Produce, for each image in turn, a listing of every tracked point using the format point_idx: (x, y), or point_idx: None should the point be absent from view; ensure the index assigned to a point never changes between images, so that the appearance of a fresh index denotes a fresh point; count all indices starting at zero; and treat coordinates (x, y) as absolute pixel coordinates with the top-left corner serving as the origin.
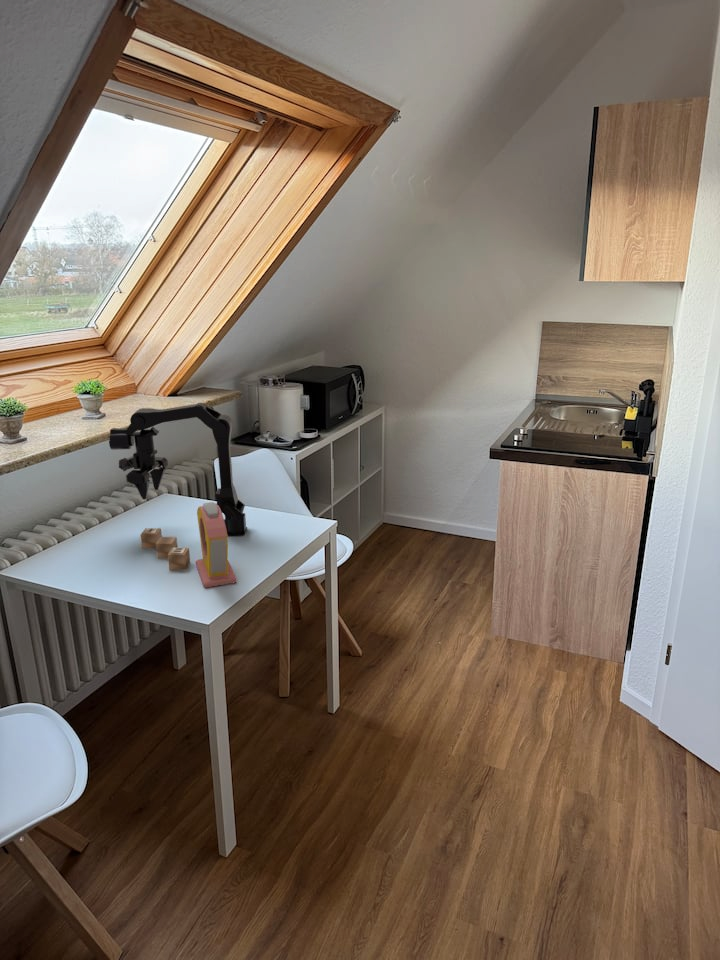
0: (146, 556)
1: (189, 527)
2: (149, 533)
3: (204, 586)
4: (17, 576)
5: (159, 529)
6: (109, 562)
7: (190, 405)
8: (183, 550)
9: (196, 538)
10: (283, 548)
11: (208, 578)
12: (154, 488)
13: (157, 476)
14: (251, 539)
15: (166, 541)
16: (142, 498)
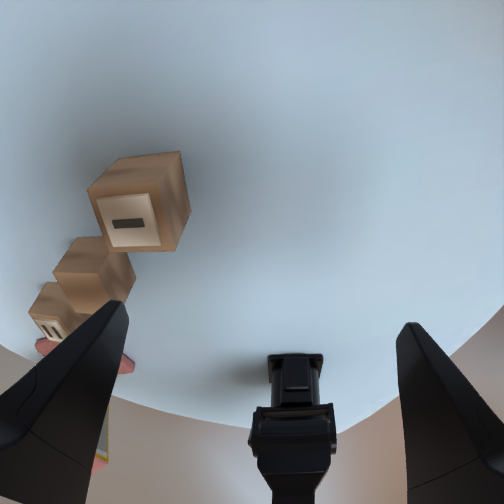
0: (72, 202)
1: (348, 264)
2: (106, 224)
3: (36, 342)
4: None
5: (160, 249)
6: (8, 110)
7: None
8: (57, 340)
9: (244, 303)
10: (216, 414)
11: (45, 353)
12: (410, 332)
13: (428, 468)
14: (252, 388)
15: (79, 297)
16: (106, 305)
